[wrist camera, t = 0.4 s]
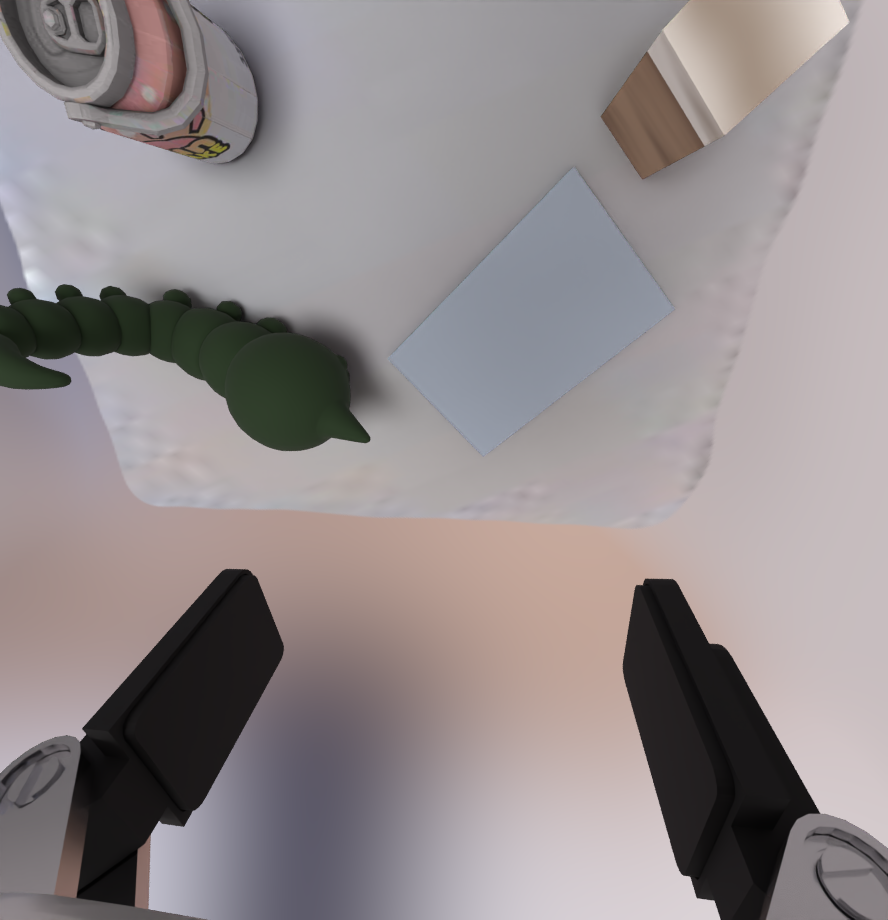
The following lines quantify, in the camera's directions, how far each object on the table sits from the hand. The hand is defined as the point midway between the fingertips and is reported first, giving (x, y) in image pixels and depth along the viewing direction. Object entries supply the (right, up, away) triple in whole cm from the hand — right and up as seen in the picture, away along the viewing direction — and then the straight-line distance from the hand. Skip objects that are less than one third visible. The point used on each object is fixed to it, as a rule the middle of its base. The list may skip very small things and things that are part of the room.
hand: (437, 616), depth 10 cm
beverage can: (-16, +31, +20) cm, 40 cm away
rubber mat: (+7, +15, +24) cm, 29 cm away
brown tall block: (+14, +27, +17) cm, 35 cm away
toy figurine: (-16, +14, +28) cm, 36 cm away
